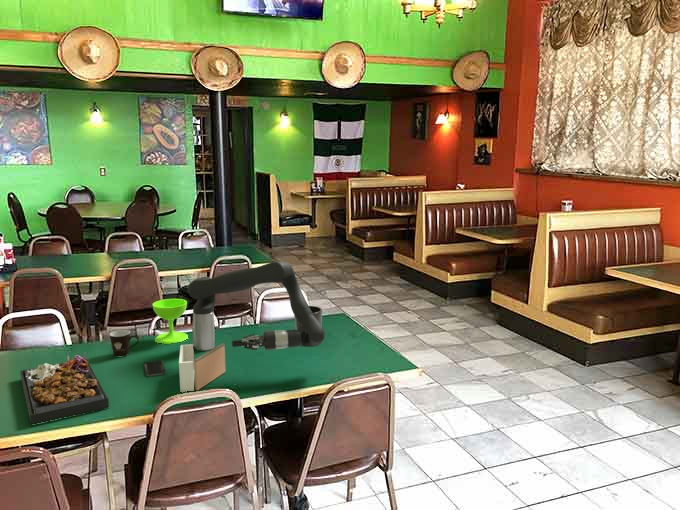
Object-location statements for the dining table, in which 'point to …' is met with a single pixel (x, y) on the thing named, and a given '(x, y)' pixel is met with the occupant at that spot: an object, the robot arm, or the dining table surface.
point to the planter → (317, 314)
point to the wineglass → (170, 319)
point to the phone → (154, 368)
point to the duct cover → (209, 366)
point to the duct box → (186, 368)
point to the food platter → (67, 377)
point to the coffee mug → (121, 342)
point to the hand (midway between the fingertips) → (232, 343)
